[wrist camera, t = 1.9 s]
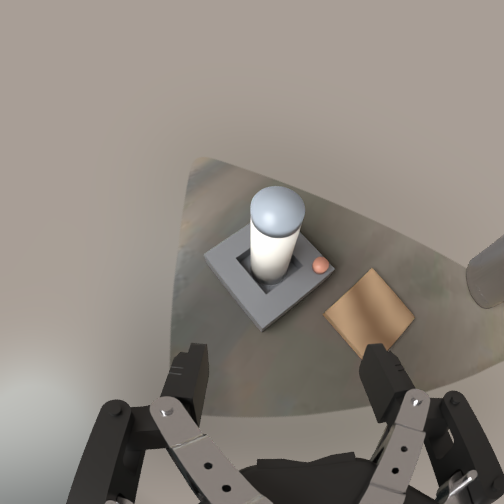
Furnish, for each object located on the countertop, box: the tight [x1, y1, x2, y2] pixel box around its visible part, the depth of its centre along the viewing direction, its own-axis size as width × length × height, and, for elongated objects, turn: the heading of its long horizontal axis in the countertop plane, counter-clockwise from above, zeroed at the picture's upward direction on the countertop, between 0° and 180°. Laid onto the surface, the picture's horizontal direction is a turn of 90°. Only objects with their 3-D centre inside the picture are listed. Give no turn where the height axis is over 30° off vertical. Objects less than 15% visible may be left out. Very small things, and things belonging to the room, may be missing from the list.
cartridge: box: [250, 186, 305, 286], centre depth 28 cm, size 4×4×13 cm
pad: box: [323, 268, 415, 359], centre depth 31 cm, size 9×9×1 cm
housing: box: [204, 223, 334, 332], centre depth 33 cm, size 11×11×4 cm
